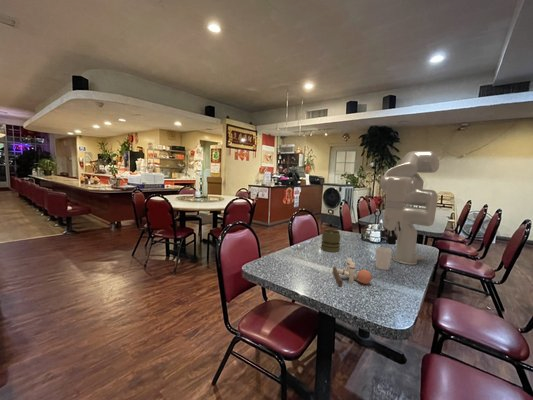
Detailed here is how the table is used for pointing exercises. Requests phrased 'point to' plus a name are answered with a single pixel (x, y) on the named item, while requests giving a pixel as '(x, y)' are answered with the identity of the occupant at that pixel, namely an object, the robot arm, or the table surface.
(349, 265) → the back pin right
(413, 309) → the table surface
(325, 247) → the piston
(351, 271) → the back pin left
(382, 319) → the table surface
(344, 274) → the front pin
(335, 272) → the walnut rail
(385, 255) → the white cup
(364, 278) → the ball
